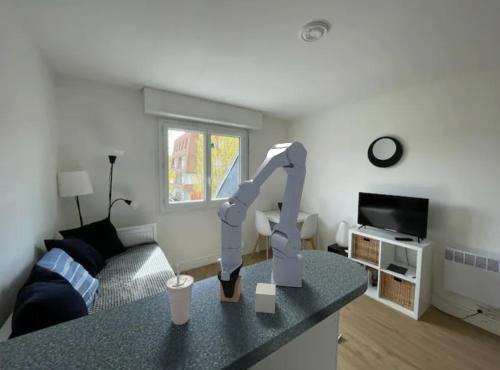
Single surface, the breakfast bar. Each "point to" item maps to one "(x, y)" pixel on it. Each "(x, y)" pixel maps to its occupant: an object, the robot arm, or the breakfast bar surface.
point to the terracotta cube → (236, 292)
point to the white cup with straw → (180, 296)
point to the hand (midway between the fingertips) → (231, 291)
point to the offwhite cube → (265, 298)
